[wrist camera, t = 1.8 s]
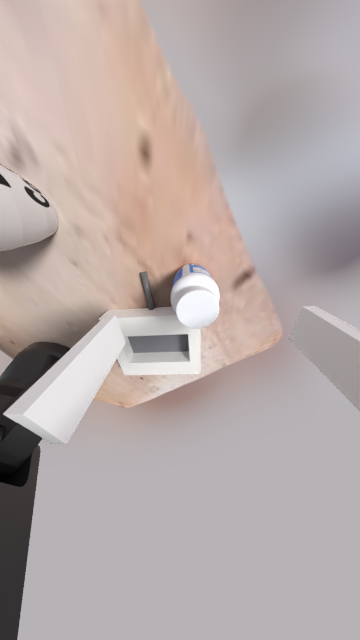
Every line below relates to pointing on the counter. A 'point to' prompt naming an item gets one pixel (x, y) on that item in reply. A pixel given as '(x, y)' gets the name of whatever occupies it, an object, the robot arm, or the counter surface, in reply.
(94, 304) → the counter surface
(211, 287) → the pill bottle
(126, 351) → the dock
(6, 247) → the cup
